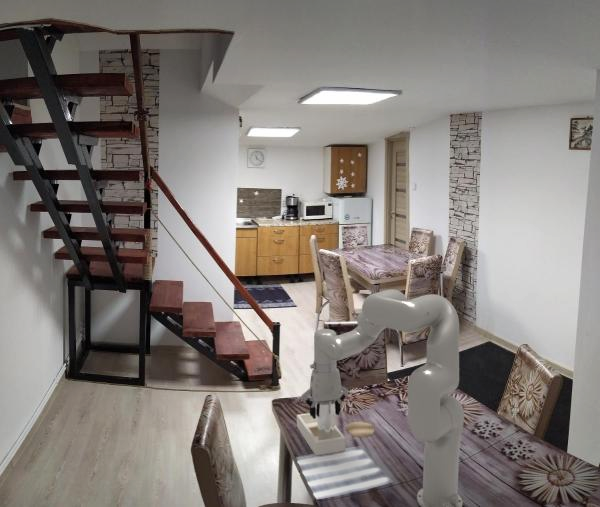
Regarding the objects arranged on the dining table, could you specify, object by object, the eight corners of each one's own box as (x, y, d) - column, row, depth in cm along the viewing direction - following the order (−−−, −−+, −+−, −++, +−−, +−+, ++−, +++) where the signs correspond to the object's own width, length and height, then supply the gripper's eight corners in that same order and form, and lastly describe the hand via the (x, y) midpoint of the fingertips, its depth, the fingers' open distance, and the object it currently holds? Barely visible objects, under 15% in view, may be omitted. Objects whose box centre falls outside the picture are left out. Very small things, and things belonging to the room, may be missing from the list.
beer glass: (334, 448, 181) (334, 406, 179) (314, 446, 183) (314, 404, 180) (337, 437, 188) (337, 397, 186) (317, 436, 189) (317, 395, 187)
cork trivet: (379, 434, 193) (379, 432, 193) (353, 438, 190) (353, 436, 190) (367, 421, 202) (367, 419, 202) (342, 425, 199) (342, 423, 199)
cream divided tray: (345, 450, 182) (345, 437, 181) (315, 455, 179) (315, 442, 178) (323, 422, 202) (323, 410, 201) (296, 426, 199) (296, 414, 198)
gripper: (304, 373, 175) (304, 424, 178) (353, 367, 180) (353, 416, 183) (297, 365, 182) (297, 414, 185) (345, 359, 187) (344, 407, 190)
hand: (325, 415), depth 184 cm, fingers open, 8 cm apart
